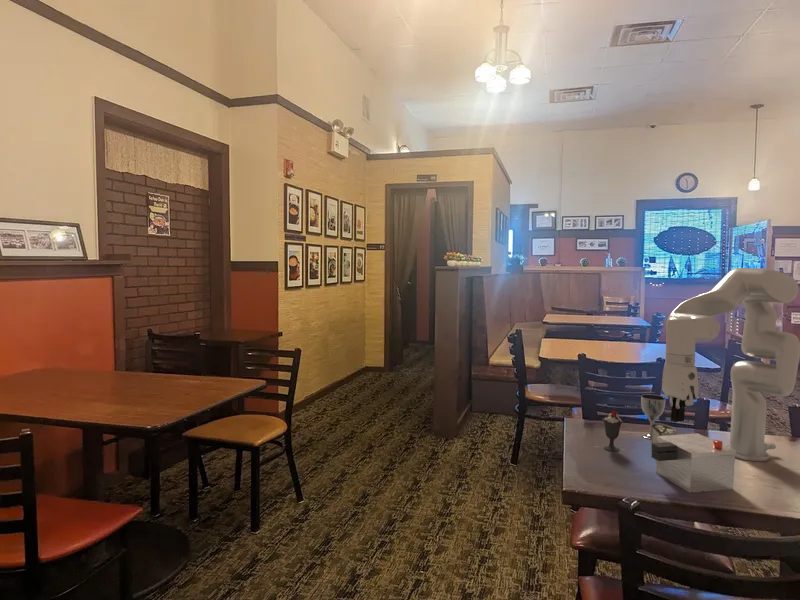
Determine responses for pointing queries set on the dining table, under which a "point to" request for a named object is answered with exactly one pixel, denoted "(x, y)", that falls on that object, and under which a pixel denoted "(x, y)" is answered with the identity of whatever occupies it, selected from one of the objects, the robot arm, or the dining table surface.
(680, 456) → the white hinged box
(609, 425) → the sundae
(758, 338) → the robot arm
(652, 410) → the wine glass
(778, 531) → the dining table surface
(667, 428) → the food container
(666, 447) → the lid
